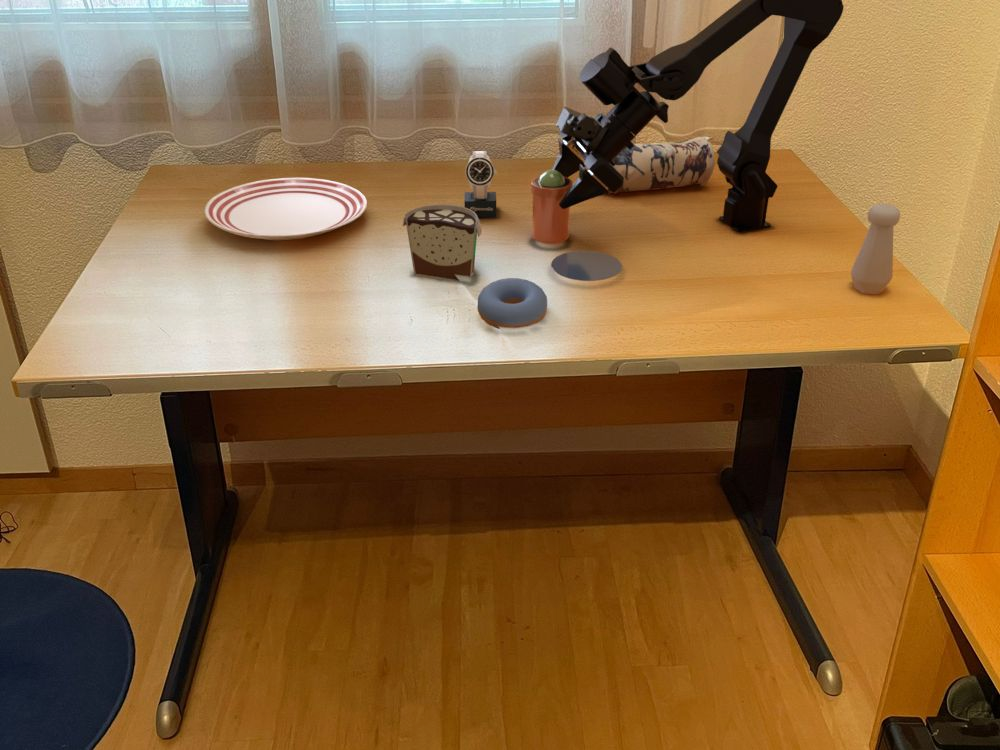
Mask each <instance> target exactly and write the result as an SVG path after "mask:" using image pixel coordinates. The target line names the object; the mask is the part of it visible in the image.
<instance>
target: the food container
mask: <svg viewBox="0 0 1000 750" xmlns="http://www.w3.org/2000/svg"><path fill="white" fill-rule="evenodd" d="M405 226H406V232H407V237H408V244H409V250H410V257H411V262H412V263H411V264H412V268H413V275H414V276H416V277H423V278H430V279H436V280H444V281H450V282H457V283H461V281H460V279H459V278H458V276H463V277H469V278H472V277H473V276H474V273H475V261H476V249H477V239H478V238H479V237H480V236H481V235H482V225H481V221H480V218H478V217H477V215H476V213H475V212H473V211H472V210H470V209H468V208H465V206H462V205H455V204H445V203H444V204H441V203H440V204H439V203H438V204H428V205H423V206H419V207H416V208H413V209H410V210H409V211H407V212H406V213H405V214H404V217H403V221H402V227H405ZM477 237H478V238H477Z"/></svg>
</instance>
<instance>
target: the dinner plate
mask: <svg viewBox="0 0 1000 750" xmlns="http://www.w3.org/2000/svg"><path fill="white" fill-rule="evenodd" d="M367 207H368V201H367V197H366V196H365V195H364V194H363V193H362V192H361V191H359V190H358V189H356V188H355V187H353V186H350V185H348V184H345V183H342V182H338V181H335V180H334V181H333V180H330V179H322V178H316V177H315V178H314V177H280V178H270V179H261V180H256V181H252V182H247V183H243V184H240V185H236V186H233V187H231V188H229V189H226V190H223V191H221V192H219V193H218V194H216V195H214V196H212V198H211V199H210V200H208V201H207V203H206V204H205V207H204V216H205V217H206V220H208V221H209V223H211V224H212V225H213V226H214V227H216V228H218V229H220V230H223V232H224V231H225V232H227V233H230V234H233V235H236V236H240V237H245V238H249V239H250V238H251V239H257V240H268V241H292V240H293V241H294V240H300V239H301V240H303V239H308V238H312V237H315V236H319V235H322V234H326V233H329V232H331V231H335V230H337V229H339V228H341V227H343V226H345V225H348V224H350V223H352V222H354V221H356V220H357V219H358V218H360V217H361V216H362V215H363V214H364V213H365V212H366V209H367Z"/></svg>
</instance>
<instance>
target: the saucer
mask: <svg viewBox="0 0 1000 750" xmlns="http://www.w3.org/2000/svg"><path fill="white" fill-rule="evenodd" d="M550 267H551V269H552V270H553V272H554V273H556V274H557V275H559V276H561V277H564V278H565V279H570V280H574V281H583V282H595V281H596V282H597V281H603V280H604V281H605V280H608V279H611V278H613V277H615V276H617V275H618V274H619V273H621V271H622V270H623V264H622V262H621V261H620V259H618V258H616V256H613V255H611V254H609V253H606V252H603V251H598V250H597V251H596V250H573V251H568V252H564V253H561V254H559V255H556V256H555V258H553V259H552V261H551V264H550Z"/></svg>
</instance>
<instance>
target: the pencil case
mask: <svg viewBox="0 0 1000 750" xmlns="http://www.w3.org/2000/svg"><path fill="white" fill-rule="evenodd" d="M714 140H715V139H714V137H711V136H696V137H694V138H690V139H685V140H682V141H668V142H667V141H666V142H653V143H633V144H634V146H633V147H632V148H631V149H630V150H629V149H628V148H627V147H625V148H624V149H623V150H622V151H621V152H620V153H619V154H618V155H617V156H616V157H615V158H614V160H613V162H614V163H615V164H616V165H615V166H614V168H615V169H616V170H617V171H618V172H619V173H620V174H621V175H622V176H623V177H624V184H623V186H622V187H621V188H620V189H619V191H618V192H617V193H627V192H629V193H630V192H637V191H651V190H661V189H671V188H672V189H673V188H678V187H686V186H687V187H688V186H705V185H707V183H708V182H709V181H710V179H711V177H712V175H713V173H714V169H715V165H716V158H715V157H716V156H715V151H714V147H713V144H712V143H711V142H710V141H714ZM607 190H608V191H609V192H610V194H614V193H613V192H612V191H611V190H610V189H609V188H608V189H607Z"/></svg>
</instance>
